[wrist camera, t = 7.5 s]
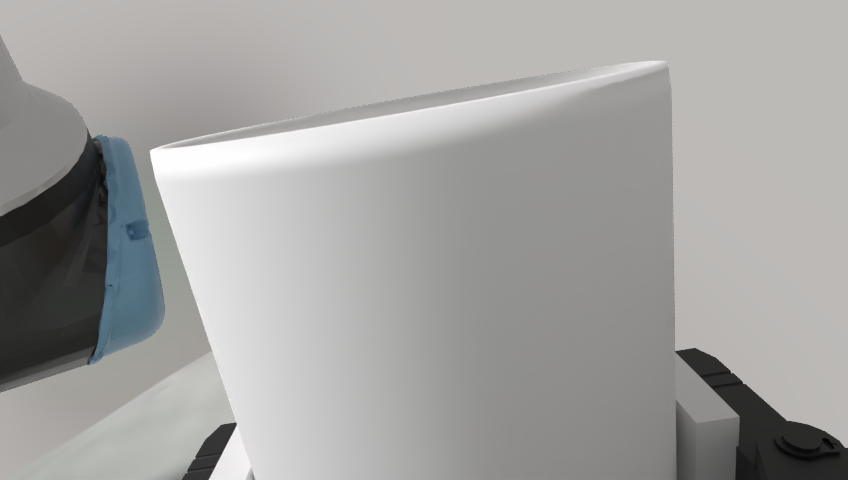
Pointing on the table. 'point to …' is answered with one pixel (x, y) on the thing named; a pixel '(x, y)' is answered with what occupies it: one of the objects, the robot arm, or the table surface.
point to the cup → (443, 281)
